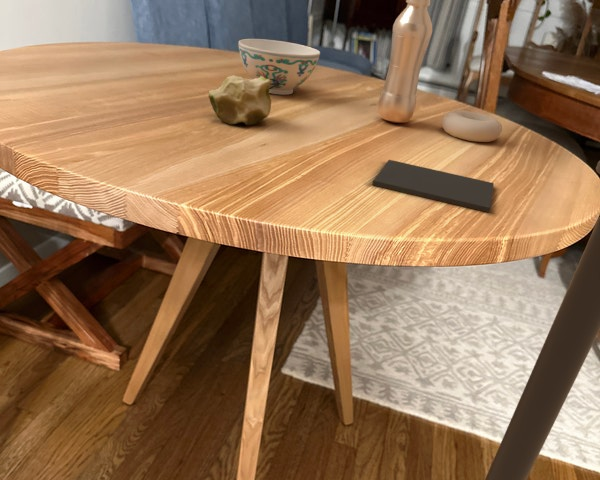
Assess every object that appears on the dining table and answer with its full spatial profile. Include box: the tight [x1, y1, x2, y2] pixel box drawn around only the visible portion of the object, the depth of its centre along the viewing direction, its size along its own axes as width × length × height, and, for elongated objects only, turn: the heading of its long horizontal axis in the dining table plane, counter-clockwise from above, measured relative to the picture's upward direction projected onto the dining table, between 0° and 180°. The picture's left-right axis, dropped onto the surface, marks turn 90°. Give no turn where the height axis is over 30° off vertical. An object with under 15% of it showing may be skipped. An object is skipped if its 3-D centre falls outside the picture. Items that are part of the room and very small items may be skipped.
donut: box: [441, 109, 503, 143], centre depth 95 cm, size 10×4×10 cm
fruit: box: [208, 74, 279, 126], centre depth 84 cm, size 9×9×8 cm
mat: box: [371, 159, 495, 213], centre depth 71 cm, size 14×10×1 cm
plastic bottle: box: [377, 0, 433, 124], centre depth 93 cm, size 6×7×20 cm
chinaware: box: [237, 38, 321, 96], centre depth 105 cm, size 15×15×8 cm
